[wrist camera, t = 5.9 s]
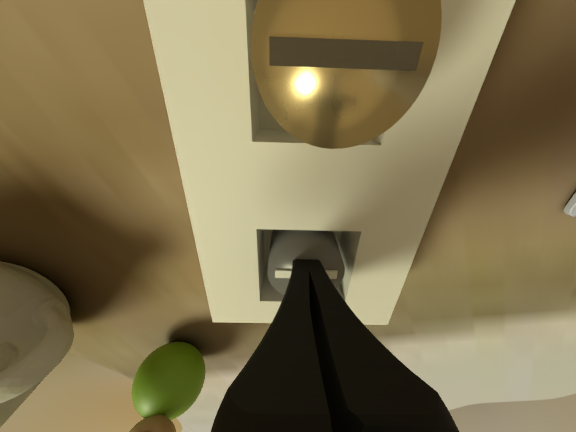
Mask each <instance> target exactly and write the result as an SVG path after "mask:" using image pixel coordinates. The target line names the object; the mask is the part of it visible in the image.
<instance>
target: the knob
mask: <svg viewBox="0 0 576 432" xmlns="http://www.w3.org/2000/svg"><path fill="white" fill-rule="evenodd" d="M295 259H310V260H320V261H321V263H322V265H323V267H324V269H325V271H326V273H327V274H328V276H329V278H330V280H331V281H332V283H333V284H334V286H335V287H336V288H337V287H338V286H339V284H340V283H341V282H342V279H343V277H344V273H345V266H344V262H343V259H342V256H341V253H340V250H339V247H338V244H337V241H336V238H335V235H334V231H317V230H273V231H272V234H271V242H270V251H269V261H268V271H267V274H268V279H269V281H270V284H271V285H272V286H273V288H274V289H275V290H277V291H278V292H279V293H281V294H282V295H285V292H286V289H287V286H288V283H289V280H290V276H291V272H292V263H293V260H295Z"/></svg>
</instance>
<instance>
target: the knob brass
mask: <svg viewBox="0 0 576 432" xmlns="http://www.w3.org/2000/svg"><path fill="white" fill-rule="evenodd" d="M441 20H442V9H441V0H258V1H257V4H256V9H255V13H254V17H253V24H252V32H251V57H252V67H253V72H254V77H255V81H256V84H257V87H258V90H259V93H260V95H261V97H262V99H263V102H264V104H265V105H266V107H267V109H268V110H269V112H270V114H271V115H272V116H273V118H274V119H275V120H276V121H277V123H278V124H279V125H280V126H281V127H282V128H283V129H284V130H285V131H287V132H288V133H289V134H291V135H292V136H293V137H295V138H297V139H299V140H300V141H302V142H304V143H307V144H309V145H312V146H316V147H320V148H327V149H343V148H349V147H354V146H357V145H360V144H363V143H366V142H368V141H370V140H372V139H374V138H376V137H378V136H379V135H381V134H383V133H384V132H385V131H387V130H388V129H390V128H391V127H392V126H393V125H394V124H395V123H397V122H398V121H399V120H400V119H401V118H402V117H403V116H404V114H405V113H406V112H407V111H408V110H409V109H410V108H411V106H412V105H413V103H414V102H415V101H416V99H417V98H418V96H419V94H420V93H421V91H422V89H423V88H424V86H425V84H426V82H427V79H428V77H429V75H430V73H431V70H432V67H433V64H434V61H435V59H436V55H437V50H438V46H439V41H440V34H441Z"/></svg>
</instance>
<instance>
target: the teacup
mask: <svg viewBox="0 0 576 432" xmlns="http://www.w3.org/2000/svg"><path fill="white" fill-rule="evenodd" d="M73 338H74V332H73V326H72V320H71V316H70V307H69V304H68V301H67V299H66V297H65V296H64V294H63V293H62V292H61V291H60V289H59V288H58V287H57V286H56V285H54V284H53V283H52V282H51V281H50V280H48V279H47V278H45V277H44V276H42V275H40V274H39V273H37V272H35V271H33V270H30V269H28V268H25V267H22V266H19V265H15V264H11V263H6V262H0V427H1V426H2V425H3V424H4V423H5V422H6V420H7V419H8V418H9V417H10V416H11V415H12V414H13V413H14V411H15V410H16V409H17V408H18V407H19V406H20V405H21V404H22V403H23V402H24V401H25V400H26V398H27V397H28V396H29V395H30V394H31V393H32V391H33V390H34V389H35V388H36V387H37V386H38V385H39V384H40V382H41V381H42V380H43V379H44V378H45V377H46V376H47V375H48V374H49V373H50V372H51V371H52V370H53V369H54V368H55V367H56V366H57V365H58V364H59V363H60V362H61V360H62V359H63V358H64V356H65V355H66V354H67V352H68V351H69V349H70V347H71V345H72V342H73Z"/></svg>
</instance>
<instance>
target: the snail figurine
mask: <svg viewBox="0 0 576 432" xmlns="http://www.w3.org/2000/svg"><path fill="white" fill-rule="evenodd" d="M204 379H205V363H204V360H203V357H202V355H201V353H200V352H199V351H198V350H197V349H196V348H195V347H194V346H192V345H191V344H188V343H185V342H172V343H168V344H165V345H163V346H161V347H159V348H157V349H156V350H155V351H153V352H152V353H151V354H150V355H149V356H148V357H147V358H146V359H145V360H144V361H143V363H142V364H141V366H140V367H139V369H138V371H137V373H136V375H135V378H134V381H133V386H132V399H133V404H134V407H135V409H136V410H137V412H138V413H139V414H140V415H141V416H142V417H143V418H145V419H143V420H141V421H140V422H138V423H137V424H136V425H135V426H134V427H133V428H132V429H131V430H130V432H176V429H175V426H174V424H173V422H172V421H171V420H172V419H174V418H176V417H178V416H180V415H181V414H183V413H184V412H185V411H186V410H187V409H189V408H190V406H191V405H192V404H193V403H194V402H195V400H196V399H197V397H198V395H199V394H200V392H201V389H202V387H203V383H204Z"/></svg>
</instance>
